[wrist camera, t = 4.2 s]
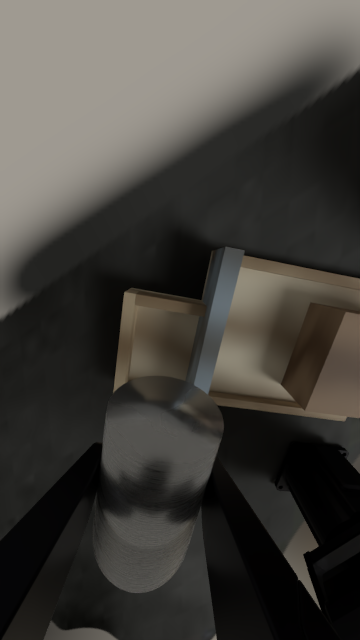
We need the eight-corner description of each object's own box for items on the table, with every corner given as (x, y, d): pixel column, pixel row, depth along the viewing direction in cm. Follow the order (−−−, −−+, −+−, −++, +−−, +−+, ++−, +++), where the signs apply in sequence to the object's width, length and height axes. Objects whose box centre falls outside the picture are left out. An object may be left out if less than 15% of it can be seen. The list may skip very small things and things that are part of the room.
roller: (210, 382, 8) (241, 469, 5) (186, 473, 9) (196, 594, 6) (121, 370, 8) (85, 455, 4) (109, 466, 9) (73, 591, 6)
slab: (338, 392, 19) (374, 420, 16) (280, 384, 19) (304, 411, 15) (374, 314, 17) (424, 326, 14) (310, 302, 17) (345, 311, 13)
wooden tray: (333, 411, 21) (371, 445, 17) (120, 382, 19) (106, 414, 15) (390, 286, 17) (455, 293, 13) (137, 236, 15) (126, 226, 11)
